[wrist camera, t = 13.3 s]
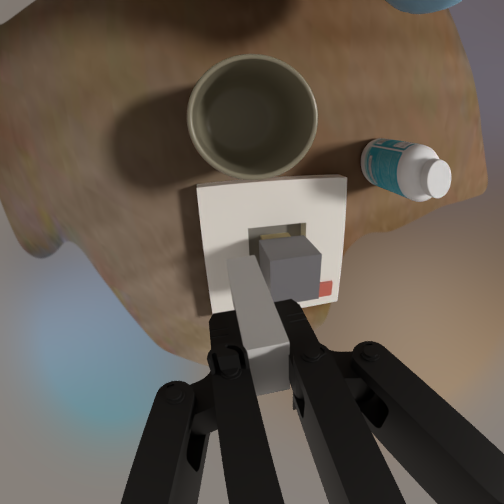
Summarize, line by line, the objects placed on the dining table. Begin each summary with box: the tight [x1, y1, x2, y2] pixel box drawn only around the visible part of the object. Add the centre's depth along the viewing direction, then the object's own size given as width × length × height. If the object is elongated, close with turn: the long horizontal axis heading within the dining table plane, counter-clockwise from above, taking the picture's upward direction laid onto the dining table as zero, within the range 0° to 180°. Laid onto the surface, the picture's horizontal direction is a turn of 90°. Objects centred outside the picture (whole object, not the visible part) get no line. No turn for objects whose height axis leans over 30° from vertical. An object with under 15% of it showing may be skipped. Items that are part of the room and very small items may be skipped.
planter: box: [187, 54, 318, 180], centre depth 29 cm, size 12×12×11 cm
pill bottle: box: [361, 138, 451, 202], centre depth 33 cm, size 8×7×14 cm
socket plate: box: [197, 174, 347, 314], centre depth 41 cm, size 20×20×3 cm
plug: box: [259, 232, 322, 302], centre depth 37 cm, size 6×6×10 cm
